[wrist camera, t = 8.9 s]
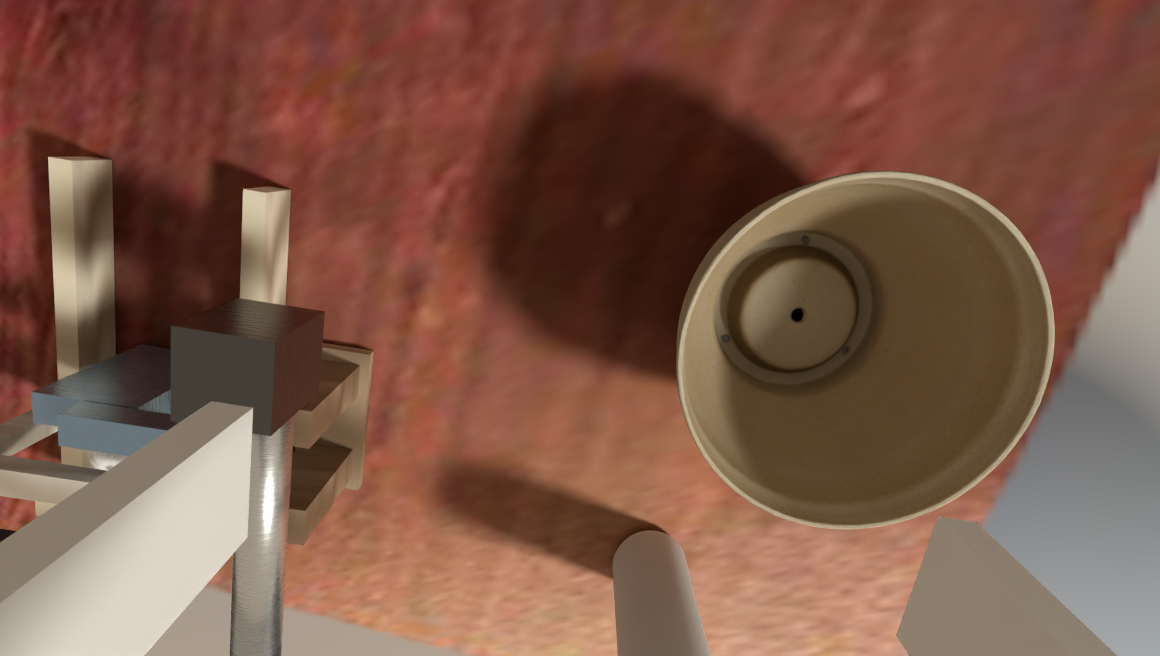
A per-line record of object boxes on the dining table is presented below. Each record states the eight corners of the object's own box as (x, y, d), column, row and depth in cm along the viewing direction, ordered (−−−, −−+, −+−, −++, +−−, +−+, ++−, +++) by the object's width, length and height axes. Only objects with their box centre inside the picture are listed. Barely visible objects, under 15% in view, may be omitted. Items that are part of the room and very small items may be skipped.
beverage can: (612, 590, 44) (622, 748, 32) (610, 526, 43) (620, 666, 31) (685, 588, 44) (721, 745, 32) (685, 523, 43) (722, 663, 31)
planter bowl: (948, 169, 37) (1095, 176, 26) (904, 436, 41) (1015, 534, 30) (660, 161, 37) (691, 166, 26) (646, 429, 41) (667, 525, 30)
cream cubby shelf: (307, 340, 40) (239, 386, 32) (373, 350, 40) (322, 399, 32) (299, 474, 42) (234, 547, 34) (362, 484, 42) (311, 559, 34)
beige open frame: (75, 154, 37) (-108, 154, 27) (305, 192, 37) (206, 206, 27) (86, 471, 42) (-65, 568, 32) (288, 501, 42) (199, 606, 33)
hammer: (139, 241, 37) (-82, 285, 25) (376, 279, 38) (275, 341, 25) (143, 559, 43) (-39, 727, 30) (350, 589, 43) (255, 766, 31)
